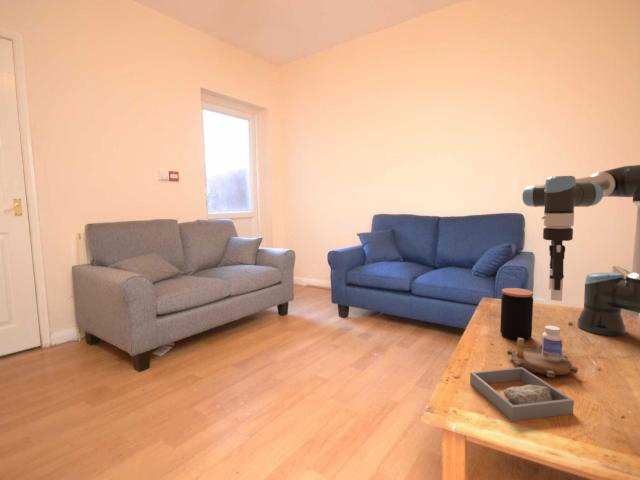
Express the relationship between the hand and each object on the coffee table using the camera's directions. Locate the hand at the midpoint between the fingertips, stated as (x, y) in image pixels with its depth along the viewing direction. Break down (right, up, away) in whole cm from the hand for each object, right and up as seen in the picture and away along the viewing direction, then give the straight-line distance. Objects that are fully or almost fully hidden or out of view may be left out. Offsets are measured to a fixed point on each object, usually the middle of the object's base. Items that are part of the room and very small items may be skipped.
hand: (554, 294), depth 108 cm
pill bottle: (0, -21, +2) cm, 21 cm away
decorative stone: (-19, -26, -18) cm, 37 cm away
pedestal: (-4, -23, +1) cm, 24 cm away
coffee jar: (+3, -21, +26) cm, 34 cm away
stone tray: (-21, -25, -15) cm, 36 cm away
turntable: (-4, -22, +1) cm, 22 cm away
